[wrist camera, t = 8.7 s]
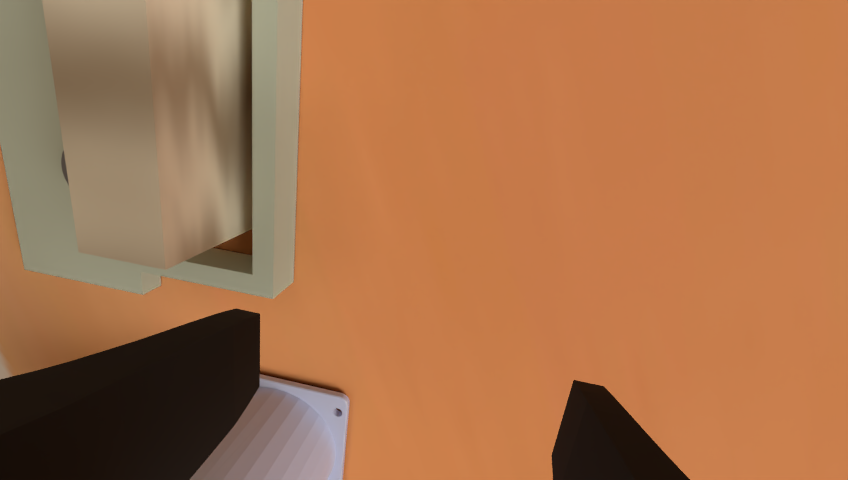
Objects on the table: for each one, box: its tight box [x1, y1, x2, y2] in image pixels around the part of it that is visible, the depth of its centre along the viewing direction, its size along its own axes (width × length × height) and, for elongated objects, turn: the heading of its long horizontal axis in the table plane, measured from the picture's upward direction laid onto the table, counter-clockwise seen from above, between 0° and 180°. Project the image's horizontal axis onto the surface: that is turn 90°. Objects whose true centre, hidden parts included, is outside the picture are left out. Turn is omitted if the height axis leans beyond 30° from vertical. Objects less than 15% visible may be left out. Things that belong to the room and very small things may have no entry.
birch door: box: [42, 0, 252, 270], centre depth 16 cm, size 12×4×6 cm, turn 173°
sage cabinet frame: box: [0, 0, 303, 299], centre depth 18 cm, size 20×14×2 cm
